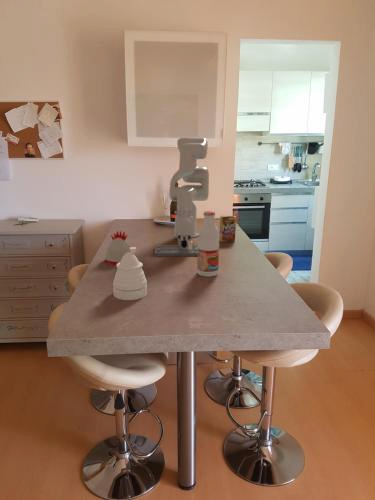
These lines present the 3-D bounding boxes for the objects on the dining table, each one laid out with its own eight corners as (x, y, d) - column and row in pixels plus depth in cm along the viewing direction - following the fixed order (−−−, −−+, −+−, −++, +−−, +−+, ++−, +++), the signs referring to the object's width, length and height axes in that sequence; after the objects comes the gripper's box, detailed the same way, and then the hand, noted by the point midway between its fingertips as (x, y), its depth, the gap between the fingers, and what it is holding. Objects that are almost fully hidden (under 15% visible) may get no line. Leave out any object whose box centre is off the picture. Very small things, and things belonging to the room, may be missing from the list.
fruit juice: (203, 269, 180) (204, 209, 172) (221, 272, 175) (224, 211, 168) (193, 274, 172) (194, 212, 164) (212, 278, 167) (214, 214, 160)
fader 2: (188, 248, 206) (188, 239, 205) (191, 248, 207) (192, 239, 205) (188, 250, 204) (188, 241, 203) (192, 250, 204) (192, 241, 203)
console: (154, 247, 214) (154, 243, 213) (197, 247, 216) (197, 243, 215) (154, 256, 199) (154, 251, 198) (200, 255, 200) (201, 251, 200)
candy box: (220, 242, 228) (221, 216, 224) (219, 240, 232) (219, 215, 228) (235, 242, 229) (236, 216, 225) (233, 240, 233) (234, 215, 229)
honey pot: (131, 285, 159) (130, 242, 154) (153, 292, 151) (153, 248, 146) (106, 294, 149) (104, 249, 144) (129, 302, 141) (127, 255, 136)
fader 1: (178, 245, 213) (178, 236, 211) (181, 245, 213) (182, 236, 212) (178, 246, 210) (178, 237, 209) (182, 246, 210) (182, 237, 209)
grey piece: (128, 266, 183) (127, 235, 179) (101, 263, 185) (99, 233, 181) (137, 257, 196) (137, 228, 192) (112, 255, 198) (111, 227, 194)
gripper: (170, 214, 196) (170, 249, 201) (199, 214, 197) (198, 249, 202) (169, 212, 203) (169, 245, 208) (198, 212, 204) (197, 245, 209)
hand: (184, 247), depth 205 cm, fingers closed
